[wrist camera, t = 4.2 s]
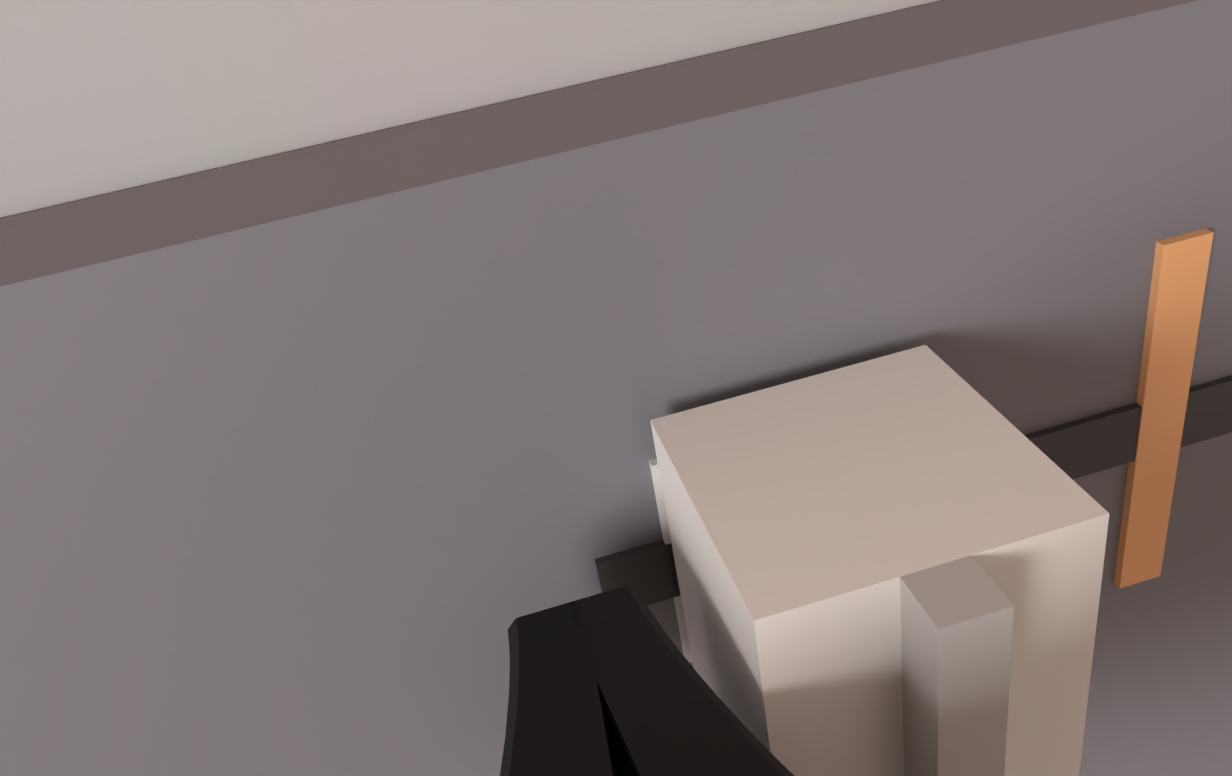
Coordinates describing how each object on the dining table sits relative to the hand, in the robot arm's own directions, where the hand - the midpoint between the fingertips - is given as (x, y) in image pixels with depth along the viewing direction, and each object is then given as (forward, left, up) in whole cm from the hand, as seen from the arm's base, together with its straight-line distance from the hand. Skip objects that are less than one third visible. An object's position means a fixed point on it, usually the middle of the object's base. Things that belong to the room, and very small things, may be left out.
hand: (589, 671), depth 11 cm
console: (+1, -3, -3) cm, 5 cm away
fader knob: (+3, 0, -1) cm, 3 cm away
